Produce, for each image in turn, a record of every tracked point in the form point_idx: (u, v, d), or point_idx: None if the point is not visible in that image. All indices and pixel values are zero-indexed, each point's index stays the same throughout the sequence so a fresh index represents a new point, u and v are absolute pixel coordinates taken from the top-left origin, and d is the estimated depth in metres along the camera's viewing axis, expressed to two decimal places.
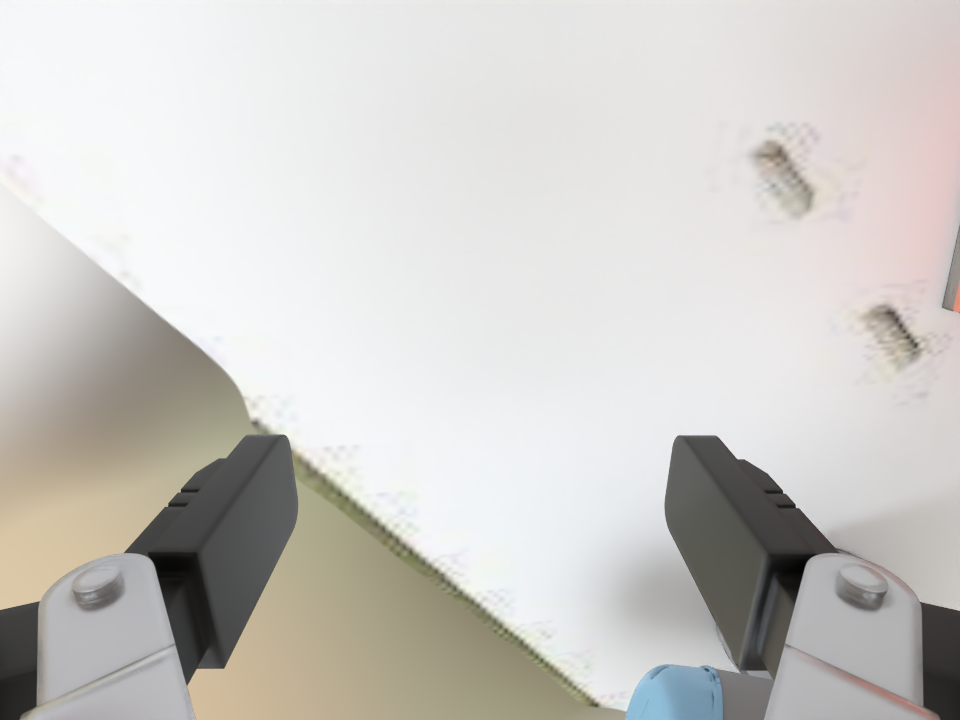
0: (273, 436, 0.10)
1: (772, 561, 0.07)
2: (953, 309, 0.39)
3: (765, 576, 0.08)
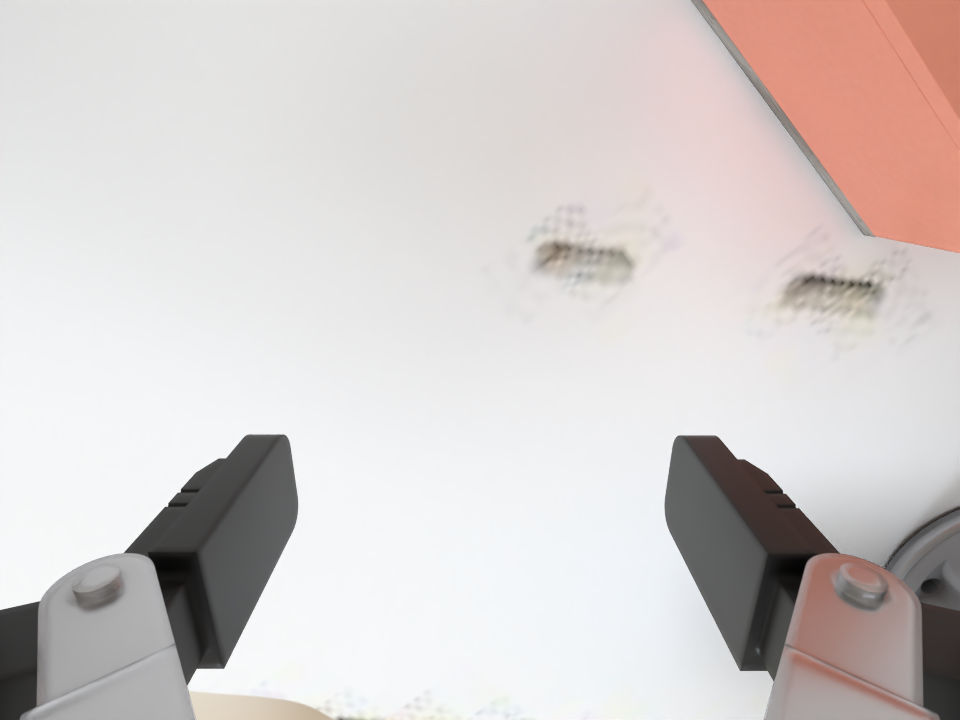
0: (273, 436, 0.10)
1: (772, 561, 0.07)
2: (874, 235, 0.30)
3: (765, 576, 0.08)
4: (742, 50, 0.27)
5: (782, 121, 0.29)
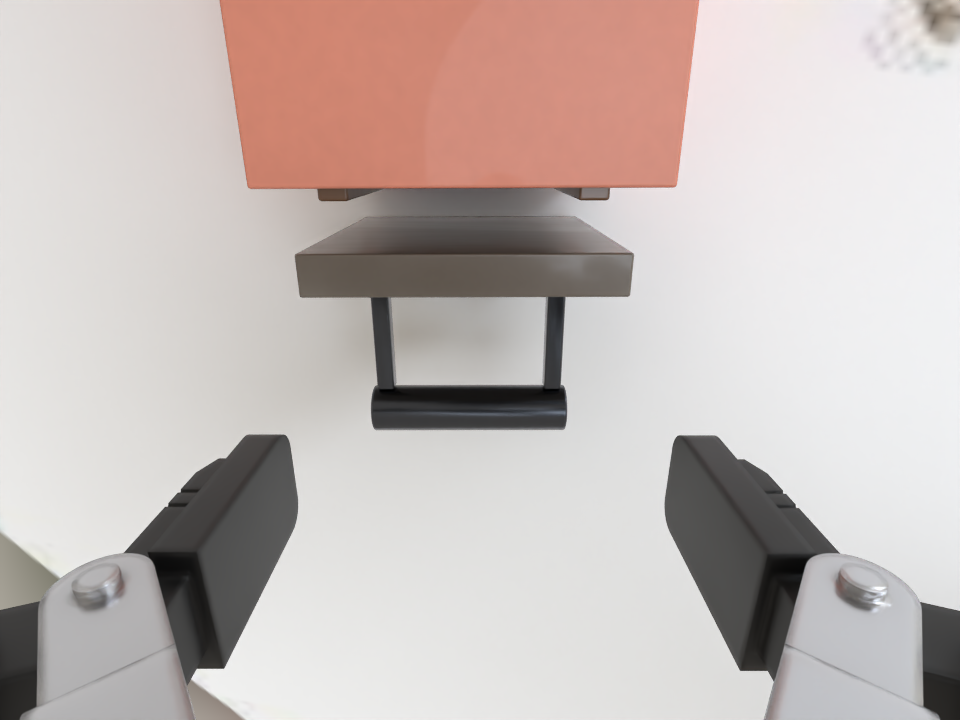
0: (273, 436, 0.10)
1: (772, 561, 0.07)
2: None
3: (765, 576, 0.08)
4: None
5: None
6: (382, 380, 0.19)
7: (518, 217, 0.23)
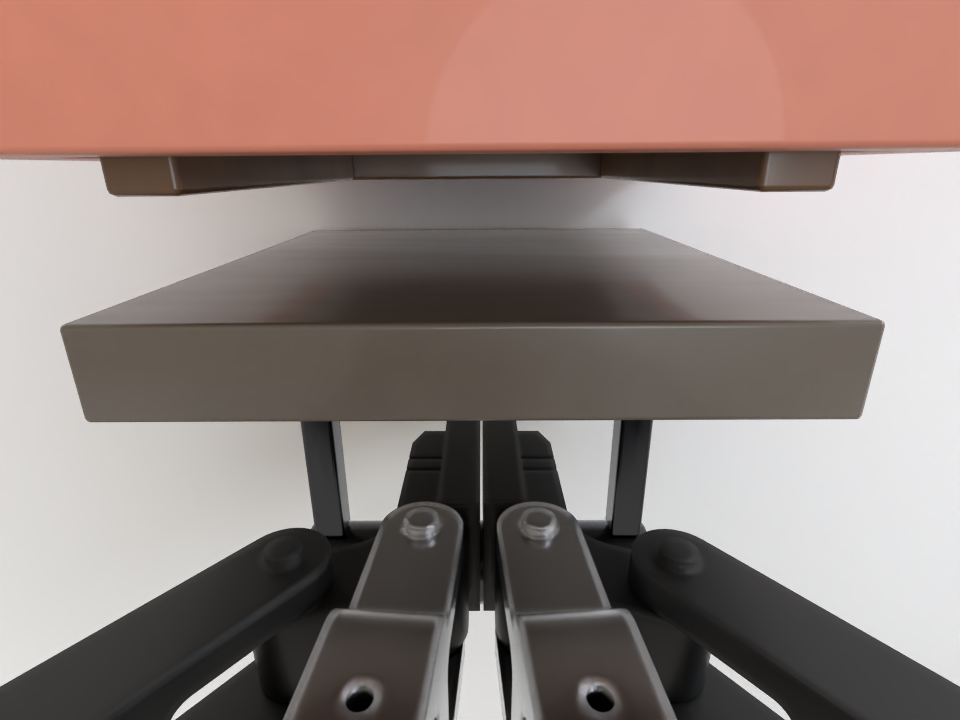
0: None
1: (489, 509, 0.08)
2: None
3: (487, 523, 0.09)
4: None
5: None
6: (322, 522, 0.11)
7: (553, 230, 0.14)
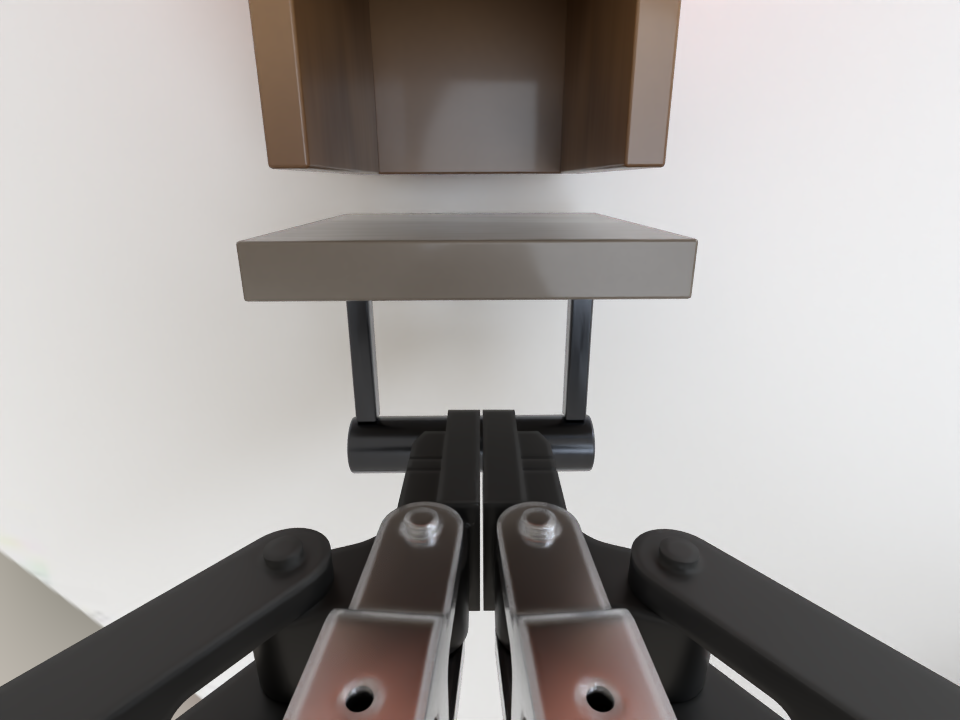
0: (473, 411, 0.11)
1: (489, 510, 0.08)
2: None
3: (487, 523, 0.09)
4: None
5: None
6: (361, 410, 0.15)
7: (527, 213, 0.19)
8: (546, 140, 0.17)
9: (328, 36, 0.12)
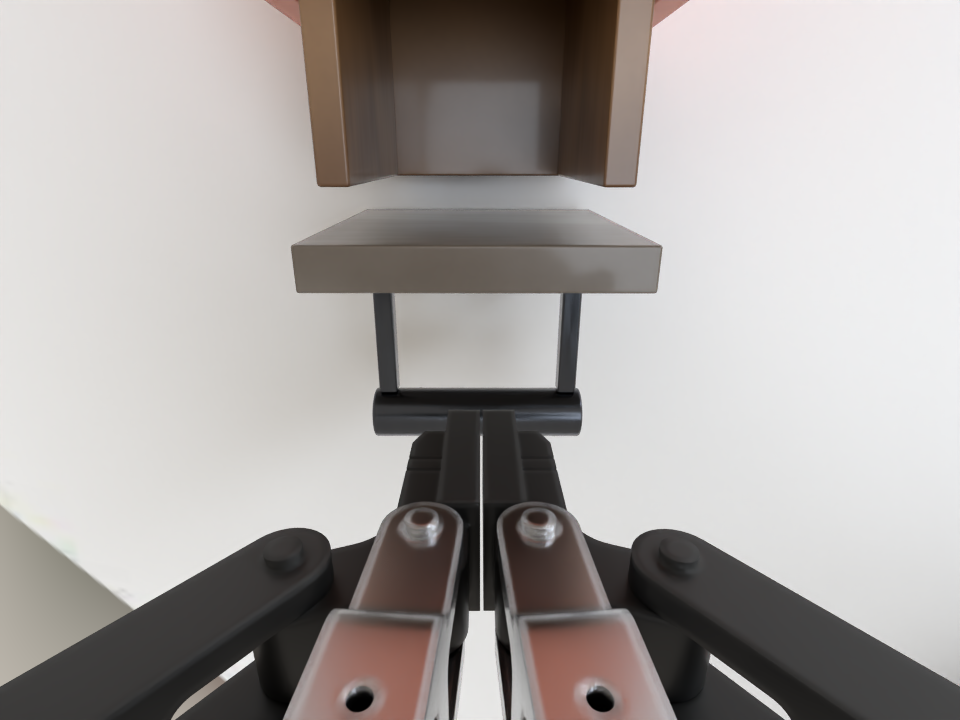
0: (473, 411, 0.11)
1: (489, 509, 0.08)
2: None
3: (487, 523, 0.09)
4: None
5: None
6: (384, 382, 0.18)
7: (528, 210, 0.21)
8: (545, 146, 0.20)
9: (362, 71, 0.14)
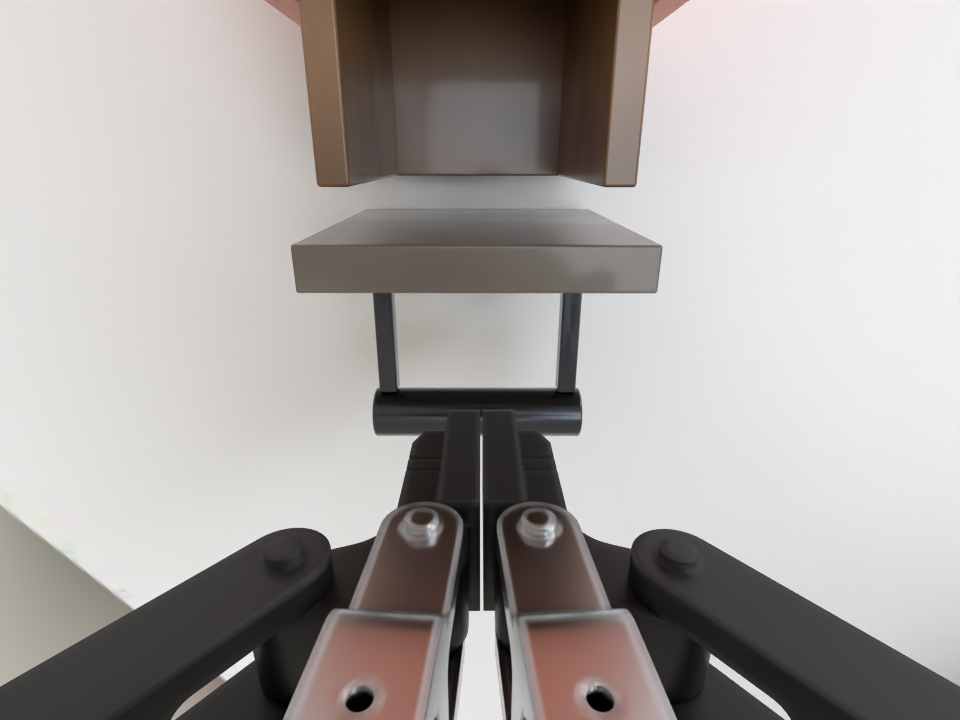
0: (473, 411, 0.11)
1: (489, 509, 0.08)
2: None
3: (487, 523, 0.09)
4: None
5: None
6: (384, 382, 0.18)
7: (528, 210, 0.21)
8: (545, 146, 0.20)
9: (362, 71, 0.14)
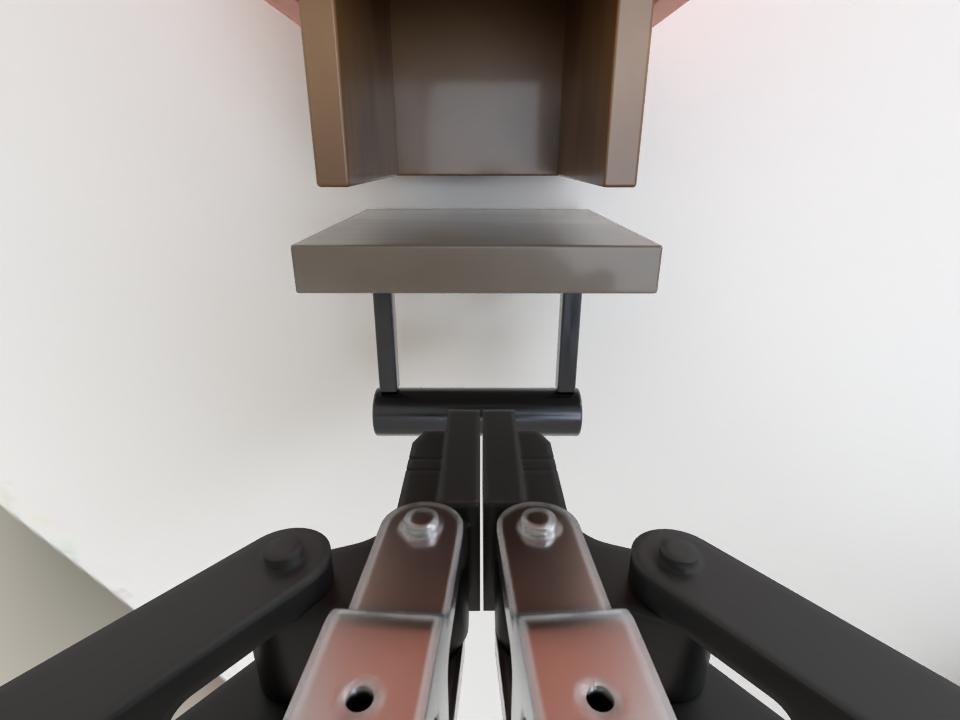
0: (473, 411, 0.11)
1: (489, 509, 0.08)
2: None
3: (487, 523, 0.09)
4: None
5: None
6: (384, 382, 0.18)
7: (528, 210, 0.21)
8: (545, 146, 0.20)
9: (362, 71, 0.14)
